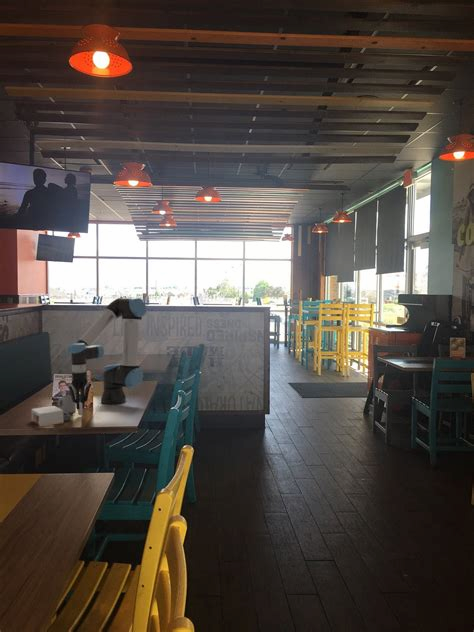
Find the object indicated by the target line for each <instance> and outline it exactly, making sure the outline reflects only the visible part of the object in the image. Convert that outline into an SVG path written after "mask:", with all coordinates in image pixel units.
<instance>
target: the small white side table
mask: <svg viewBox="0 0 474 632" xmlns="http://www.w3.org/2000/svg"><path fill="white" fill-rule="evenodd" d="M38 416H39V419H38ZM31 422H33V423H35V424H37V425H38V426H39V427H44V426H52V425H57V424H63V423H64V422H65V421H63V410H62V409H60V408H58V406H56V405H51V406H44V407H36V408H31Z"/></svg>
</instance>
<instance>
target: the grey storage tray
mask: <svg viewBox="0 0 474 632" xmlns="http://www.w3.org/2000/svg"><path fill="white" fill-rule="evenodd" d="M38 419H39V416H38ZM71 419H72V418H71V413H66V412H63V421H64V422H70V421H72V420H71Z"/></svg>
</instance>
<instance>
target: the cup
mask: <svg viewBox="0 0 474 632" xmlns="http://www.w3.org/2000/svg"><path fill="white" fill-rule="evenodd" d="M75 398H76V395H75ZM57 407H58V408H60V409H62V410H63V412H66V413H68V414H72V413H75V412H77V411H76V410H77V408H76V403H74V402H73V401H72V397H71V394H67V395H63V396H62V397H60V398H59V399H58V400H57Z"/></svg>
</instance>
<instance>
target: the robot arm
mask: <svg viewBox="0 0 474 632" xmlns="http://www.w3.org/2000/svg"><path fill="white" fill-rule="evenodd" d="M102 312H103V313H102V314H101V315H100V316H99V317H98V318H97V319H96V320H95V322H93V324H92V325H91V326H90V327H89V328H88V329H87V330H86V332H84V334H83V335H82V336H81V337H80V338H79V339H78V340H77V342H74V343H71V344H69V345H68V347H67V353H68V355H69V356H70V357H71V383H70V384H69V385H67V386H66V387H67V389H68V390H69V393H70V394H69V395H71V397H72V401H73V402H74V403H76V410H77V415H78V416H84V413H83V411H84V410H83V409H85V402H87V401H88V398H89V394H90V389H91V386H92V383H91V382H88V379H87V361H88V360H95V359H96V360H97V359H100V358H102V357H103V356H104V354H105V350H104V347H103V345H101V344H94V343H95V342H96V341H97V340H98V339H99V337H100V336H101V335H102V334H103V333H104V332H105V331H106V330H107V329H108V327H109V326H110V325H111V324H112V323H113V322H115V321H117V319H119V318H121V319H122V321H123V322H124V325H123V326H124V328H123V346H122V361H121V363H117V364H109V365H105V366H104V367H103V368H102V369H103V370H102V371H103V372H102V379H103V383H102V384H103V392H102V395H101V398H100V403H101V404H104V405H117V404H122V403H125V401H126V402H127V398H126V394H125V392H124V387H126V388H128V389H130V388H137V387H138V386H139V385H140V384H141V383H142V382H143V378H144V373H143V372H142V369H141V368H140V364H139V362H138V350H139V349H138V347H139V333H140V332H139V331H140V329H139V328H140V327H139V326H140V322H141V321H142V320H143V318H142V317H144V316H145V315H146V313H147V306H146V302H145V301H144V299H142V298H140V297H135V296H134V297H133V296H132V297H131V296H130V297H127V296H125V297H124V296H123V297H118V298H116V299H115V300H113V301H111V302H110V303H109V304H108V305H107V306H105V308H104V309H103V311H102ZM73 388H74V389H75V390H74V389H73ZM74 391H75V393H74ZM75 396H76V398H75Z"/></svg>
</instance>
